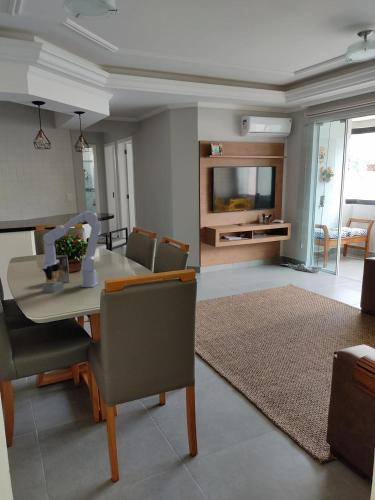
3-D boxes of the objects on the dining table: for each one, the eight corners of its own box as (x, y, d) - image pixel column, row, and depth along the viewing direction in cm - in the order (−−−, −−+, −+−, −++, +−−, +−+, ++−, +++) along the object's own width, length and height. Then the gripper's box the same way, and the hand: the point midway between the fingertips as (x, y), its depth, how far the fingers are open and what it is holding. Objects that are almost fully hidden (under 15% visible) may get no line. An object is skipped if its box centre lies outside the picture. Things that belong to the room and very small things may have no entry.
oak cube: (50, 279, 207) (50, 271, 206) (58, 279, 206) (58, 271, 205) (46, 281, 202) (45, 273, 201) (54, 282, 201) (53, 273, 200)
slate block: (52, 287, 210) (51, 281, 210) (63, 289, 208) (63, 282, 207) (42, 291, 203) (42, 285, 202) (54, 293, 200) (53, 286, 200)
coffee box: (69, 279, 227) (67, 254, 224) (69, 282, 221) (67, 256, 218) (54, 280, 224) (52, 255, 221) (53, 283, 218) (51, 257, 215)
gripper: (50, 252, 209) (52, 274, 212) (36, 257, 195) (38, 281, 198) (61, 252, 208) (63, 275, 210) (48, 257, 194) (50, 281, 196)
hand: (52, 278), depth 204 cm, fingers closed on oak cube, 5 cm apart
